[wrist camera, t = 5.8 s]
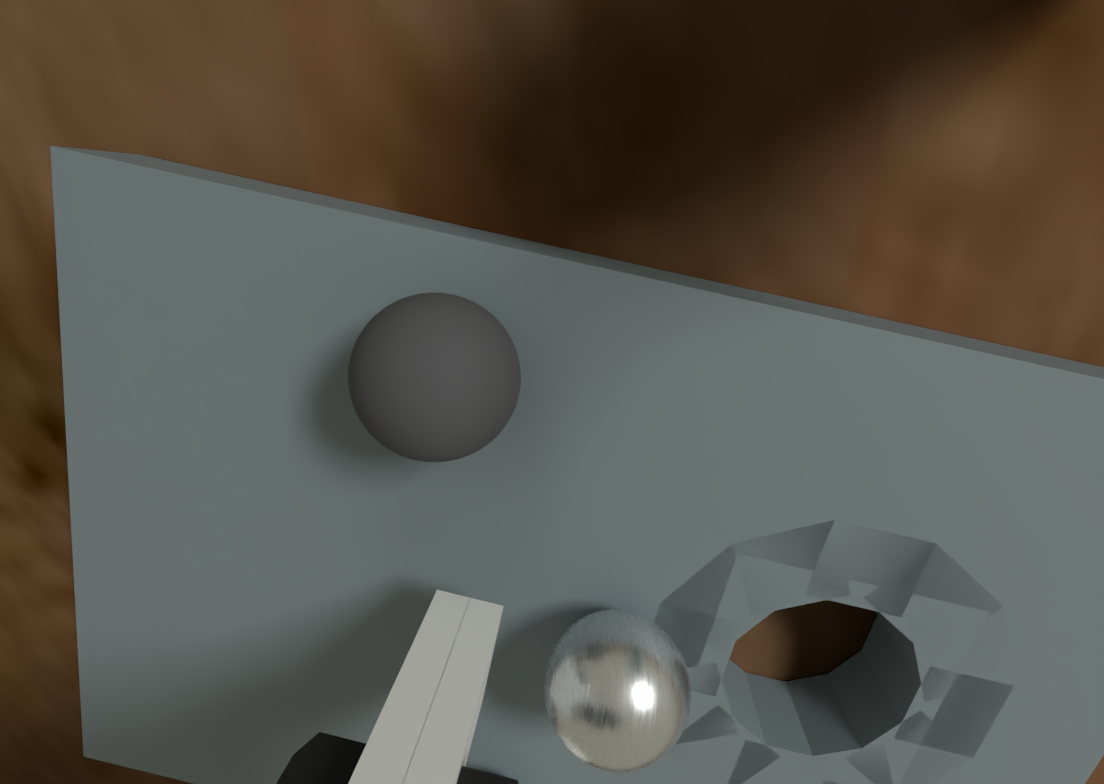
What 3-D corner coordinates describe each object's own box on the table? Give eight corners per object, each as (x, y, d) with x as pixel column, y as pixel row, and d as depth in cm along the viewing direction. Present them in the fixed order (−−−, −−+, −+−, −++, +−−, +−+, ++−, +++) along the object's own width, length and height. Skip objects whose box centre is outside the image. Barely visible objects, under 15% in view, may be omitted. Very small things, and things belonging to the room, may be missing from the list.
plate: (145, 691, 20) (83, 756, 18) (140, 154, 15) (50, 145, 12) (917, 878, 20) (960, 971, 17) (1201, 389, 14) (1320, 426, 12)
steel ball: (647, 691, 16) (525, 681, 15) (681, 588, 15) (553, 573, 14) (686, 814, 13) (536, 806, 12) (733, 694, 12) (572, 680, 11)
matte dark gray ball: (376, 408, 14) (309, 469, 10) (393, 267, 13) (324, 288, 9) (515, 440, 13) (488, 510, 10) (544, 300, 12) (523, 333, 9)
